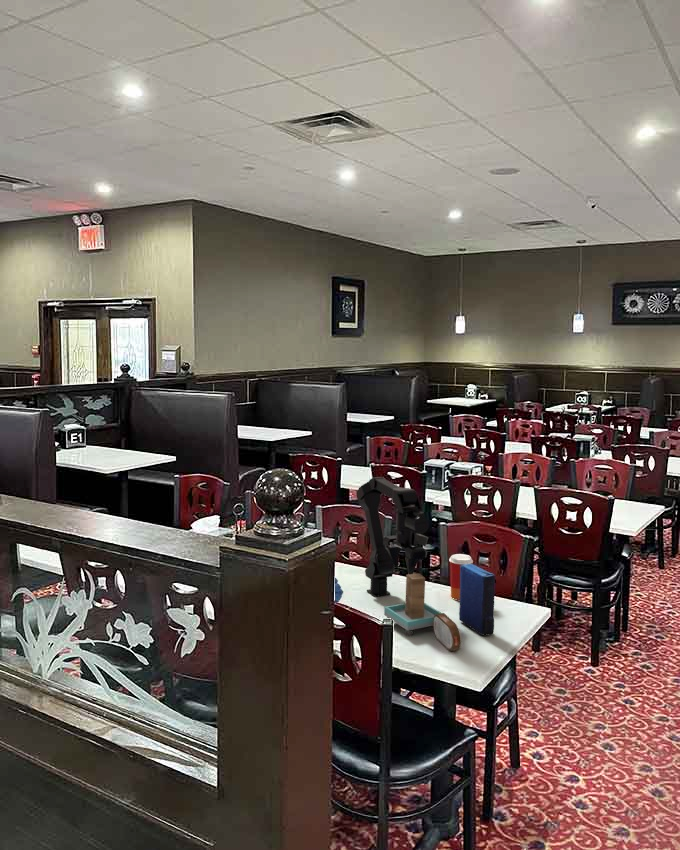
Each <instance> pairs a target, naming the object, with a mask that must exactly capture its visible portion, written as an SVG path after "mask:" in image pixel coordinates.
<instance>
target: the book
mask: <svg viewBox="0 0 680 850" xmlns="http://www.w3.org/2000/svg"><path fill="white" fill-rule="evenodd" d="M495 585H496V575H495V574H494V573H492V572H489V571H487V570H485V569H483V568H481V567H478V566H477V565H475V564H473V563H472V564H465V565H461V566H460V601H459V609H458V611H459V612H458V614H459V616H458V617H459V618H458V619H459V621H460V622H461V623H462V624H464V625H465V626H467V627H469V628H470V629H472V630H474V631H475V632H477V633H478V634H479V635H482V636H492V635H494V633H495V632H494V631H495V629H494V628H495V617H494V615H495V614H494V612H495V611H494V609H495V587H496V586H495Z"/></svg>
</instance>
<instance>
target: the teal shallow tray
mask: <svg viewBox="0 0 680 850" xmlns="http://www.w3.org/2000/svg"><path fill="white" fill-rule="evenodd" d="M405 603H406V602H405ZM405 603H399V604H394V605H389V606H384V611H383V612H384V613H383V615H384V616H385V617H386V619H387V618H391V619H393V620H394V622H393V623H395V624H397V625H399V626H400V627H401V628H403V629H404V630H405V635H406V636H407V635H408V636H407V637H411V636H412V635H413V630H417V629H424V628H427V627H434V624H433V618H434V616H435V615H436V614H441V613H442V612H441V611H440V610H437V609H435V608H434V607H432V606H431V605H429V604H428V603H426V602H424V617H422V618H413V619H411V618H409V617H408V616H407V615H406V614H405Z"/></svg>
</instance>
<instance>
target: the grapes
mask: <svg viewBox="0 0 680 850" xmlns="http://www.w3.org/2000/svg"><path fill="white" fill-rule="evenodd" d="M338 582H339V580H338V579H337V578H336V577H335V602H340V600H341V599H342V597H343V596H342V595H343V594H344V590H343V589H342V586H341V585H340V584H339V583H338Z"/></svg>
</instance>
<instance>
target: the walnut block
mask: <svg viewBox="0 0 680 850" xmlns="http://www.w3.org/2000/svg"><path fill="white" fill-rule="evenodd" d="M405 577H406V579H405V580H406V581H405V614H406V615H407V616H408V617H409V618H411V619H413V618H422V617H424V603H425V598H426V597H425V595H426V594H425V593H426V591H425V589H426V577H424V576H423V575H422V574H421V573H413V574H409V573H408V574H406V576H405Z"/></svg>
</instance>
